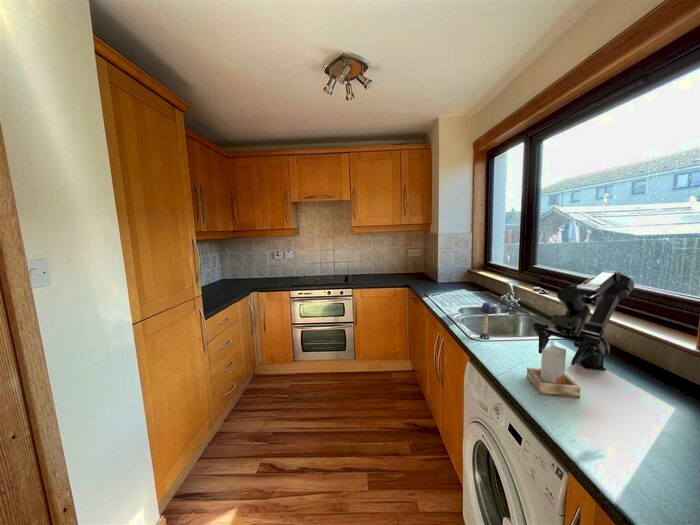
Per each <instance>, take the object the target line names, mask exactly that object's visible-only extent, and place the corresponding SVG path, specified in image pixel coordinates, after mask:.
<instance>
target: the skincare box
mask: <svg viewBox="0 0 700 525" xmlns="http://www.w3.org/2000/svg"><path fill="white" fill-rule="evenodd" d="M566 355H567V349H565V348H562V347H559V346H555V345H552V344H551V345H550V346H546V347H545V349H542V353H541V367H540V368H541V378H540V380H541V381H542V382H543V383H550V384H563V385H564V372H565V373H566V370H565V369H566Z"/></svg>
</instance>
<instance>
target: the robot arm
mask: <svg viewBox="0 0 700 525" xmlns="http://www.w3.org/2000/svg"><path fill="white" fill-rule="evenodd" d="M634 288H635V282H634V281H633V280H632V278H631V277H629V276H627V275H624V274H622V273H621V271H617V270H607V269H603V270H601V271H600V272H599V274H598V275H596V276H595V277H594V278H593V279H591V280H590V281H589V282H587V283H582V284H580V283H579V284H577V285H573V284H569V285H568V287H564V288H562V289H560V290H559V291H557V294H556V295H557V298H558V300H559V302H560V304H561V306H563V308H564V310H565V312H564V314H561V315H559V314H555V313H554V314H552V317H551V319H550V324H551V325H554V326H553V327H554V329H552V328H550V326H549V325H548V323H544V322H541V321H534V322H533V323H532V324H531V328H532V330H533V331H534V333H535V334H536V335H537V336H538V354H540V355H542V349H545V348H546V347H547V345H548V344H549V342H550V339H549V338H551V336H554V337H557V338H561V339H564V340H567V341H571V342H573V343H574V345H573V346H574V347H575V348H577V351H576V352H575V354H574V355H573V357H572V360H571V363H570V365H571V366H575V365H577V364H579V365H580V366H581V367H582V368H584V369H586V370H599V371H606V370H607V368H606V367H605V366H604V360H605V359H604V358H605V355H609V354H610V348H611V345H610V344H609V342H608V340H607V339H608V338H607V335H606V332H605V329H606V328H607V325H608V323H609V321H610V319H611V317H612V315H613V313H614V311H615V309H616V307H617V305H618V303H619V301H620V300H623V299H625V298H627V297H628V296H629V295H630V293H631V292H633V290H634ZM589 306H594V307H595V306H596V307H595V309H594V311H593V313H592V315H591V309H590V307H589ZM588 317H590V319H589V320H588ZM587 320H588V322H587Z"/></svg>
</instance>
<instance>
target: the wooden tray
mask: <svg viewBox="0 0 700 525" xmlns="http://www.w3.org/2000/svg"><path fill="white" fill-rule="evenodd" d="M526 378H527V380H529V382H530V384H531V385H532V387H534V388H535V390H536V391H537V392H538V394H539V395H540V396H547V397H557V398H568V399H569V398H570V399H580V397H581V387H580V386H579V384H578V383H576V382H575V381H574V380H573V379H572V377H570V376H569V375H568V374H567V373H566V371H565V372H564V385H563V384H550V383H543V382H542V381H541V380H540V378H541V367H526Z"/></svg>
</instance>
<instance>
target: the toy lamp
mask: <svg viewBox="0 0 700 525" xmlns="http://www.w3.org/2000/svg"><path fill="white" fill-rule="evenodd" d="M480 312H482V313H483V325H482V326H483V328H482V330H483V331H482V333H481V334H480V335H479V338H480V337H481V339H482V338H483V337H484V338H486V337H487V338H489V337H490V335H489V334H488V323H489V322H488V321H489V314H492V313H493V310H492V305H491V303H490V302H483V303H482V305H481V308H480ZM490 338H491V337H490Z"/></svg>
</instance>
